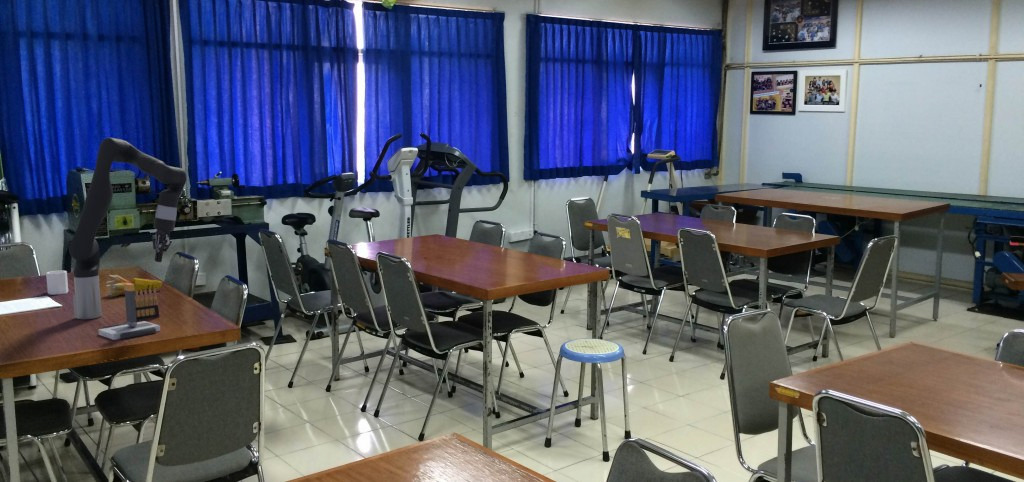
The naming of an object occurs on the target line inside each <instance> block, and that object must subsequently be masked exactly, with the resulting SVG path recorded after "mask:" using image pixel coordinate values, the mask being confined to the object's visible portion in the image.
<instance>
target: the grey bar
mask: <svg viewBox="0 0 1024 482" xmlns="http://www.w3.org/2000/svg"><path fill="white" fill-rule="evenodd" d="M126 324H127V322H123V323H119V324H113V325H108V326H103V327H102V328H101V329H104V328H110V327H115V326H121V325H126Z"/></svg>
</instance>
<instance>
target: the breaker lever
mask: <svg viewBox="0 0 1024 482" xmlns="http://www.w3.org/2000/svg"><path fill="white" fill-rule="evenodd" d="M124 290H125V294H124V298H125V299H124V301H125V312H126V315H125V317H126V323H127V325H128V326H131V327H136V326H137V322H138V321H137V320H136V308H135V293H134V291H135V288H134V284H131V283H125V284H124Z"/></svg>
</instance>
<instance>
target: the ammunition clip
mask: <svg viewBox="0 0 1024 482" xmlns="http://www.w3.org/2000/svg"><path fill="white" fill-rule="evenodd" d="M143 292H144V293H143ZM157 296H158V295H157V289H155V288H154V290H151V289H149V291H146V289H145V291H142V290H140V292H139V293H138V292H137V290H136V293H135V308H136V321H139V320H147V319H154V318H160V310H159V303H158V297H157Z"/></svg>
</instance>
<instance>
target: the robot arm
mask: <svg viewBox="0 0 1024 482" xmlns="http://www.w3.org/2000/svg"><path fill="white" fill-rule="evenodd" d="M96 156H97V157H96V160H95V161H96V162H95V167H94V171H93V175H92V179H91V180H90V181H91V182H90V184H89V188H88V190H87V193H86V197H85V200H84V204H83V208H82V211H81V214H80V216H79V222H78V225H77V227H76V230H75V232H74V235H73V237H72V239H71V241H70V243H69V246H68V252H69V255H70V257H71V258H72V259H74V260H75V266H74V268H73V273H72V274H73V281H74V294H73V295H72V300H73V313H74V319H78V320H93V319H98V318H102V316H103V315H102V302H101V289H100V287H101V286H100V275H99V273H100V272H99V271H100V270H99V269H100V267H101V266H100V264H101V263H100V262H101V261H100V259H101V258H100V246H99V243H98V241H97V239H95V238H96V234H97V232H98V229H99V227H100V225H101V224H102V222H103V221H104V219H105V217H106V215H107V214H108V212H109V209H110V207H111V203H112V200H113V197H114V191H113V186H112V183H111V178H110V177H111V176H110V175H111V174H110V173H111V169H112V165H113V163H114V162H115V163H124V164H130V165H133V166H134V167H137V169H139V170H140V171H141V172H142V173H144V174H146V175H148V176H150V177H152V178H154V179H156V180H157V181H158V182H160V183H162V184H165V185H169V186H168V188H167V189H164V190H161V192H159V197H158V202H157V203H158V204H157V206H156V209H155V215H154V216H155V217H154V220H153V226H152V227H153V228H154V229H155V230H156V231H155V233H154V234H155V235H152V236H151V240H152V241H151V243H152V247H153V250H154V252H155V256H154V262H157V263H162V261H163V254H164V253H166V252H167V251H168V249H169V248H170V246H171V244H172V243H173V241H172V239H171V240H170V232H173V231H175V226H176V219H177V213H178V211H177V210H178V205H179V204H178V203H179V198H180V196H181V194H182V192H183V189H184V187H185V185H186V183H187V172H186V171H185V170H184V169H183V168H181V167H177V166H176V167H174V166H170V165H167V164H166V163H165V162H164V161H162V160H161V159H159V158H156V157H154V156H151V155H149V154H146V153H145V152H142V151H141V150H139V149H137V147H135V146H133V145H132V144H131V143H130V142H128V141H126V140H123V139H121V138H115V137H105V138H104V139H103V140H101V143H100V144H99V148H98V153H97V155H96Z"/></svg>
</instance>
